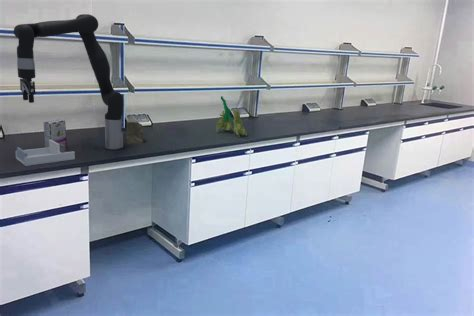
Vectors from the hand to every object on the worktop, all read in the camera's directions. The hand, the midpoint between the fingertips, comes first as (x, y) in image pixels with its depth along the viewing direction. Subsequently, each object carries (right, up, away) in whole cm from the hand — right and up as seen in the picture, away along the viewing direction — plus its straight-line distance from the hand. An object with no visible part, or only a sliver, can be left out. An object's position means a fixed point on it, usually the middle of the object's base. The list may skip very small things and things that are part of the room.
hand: (28, 101), depth 198 cm
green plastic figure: (+97, -11, +98) cm, 139 cm away
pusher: (+9, -26, +13) cm, 31 cm away
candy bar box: (+2, -24, +26) cm, 35 cm away
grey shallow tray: (+4, -28, +9) cm, 30 cm away
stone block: (+36, -18, +57) cm, 70 cm away
